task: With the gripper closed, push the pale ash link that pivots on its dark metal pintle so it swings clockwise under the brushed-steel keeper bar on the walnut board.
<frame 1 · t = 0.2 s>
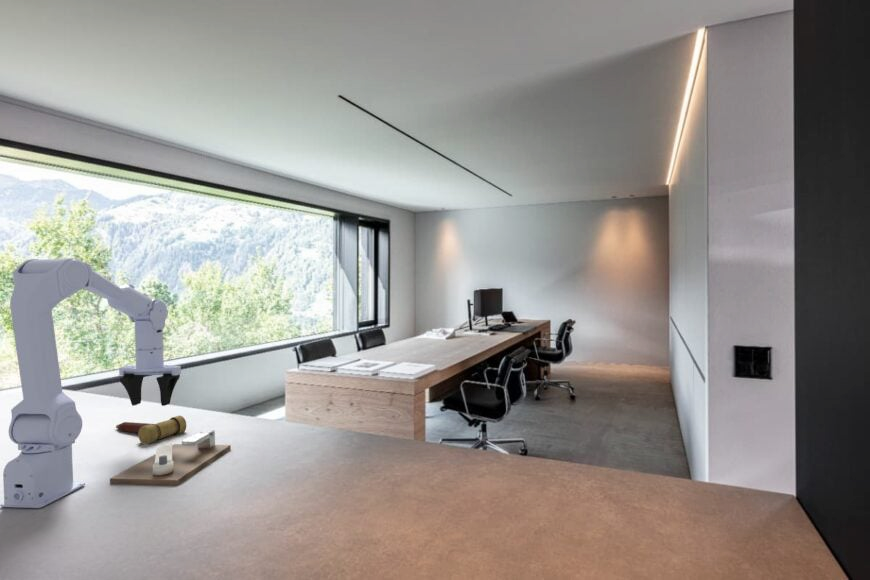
hand: (151, 404, 111), 10 cm above the worktop, fingers open, 7 cm apart
pivot board: (175, 464, 99), on the worktop
keeper: (198, 456, 103), resting on pivot board
gavel: (142, 435, 120), on the worktop
swing link: (163, 456, 97), point 3 cm above the worktop, hinge at 35.0°
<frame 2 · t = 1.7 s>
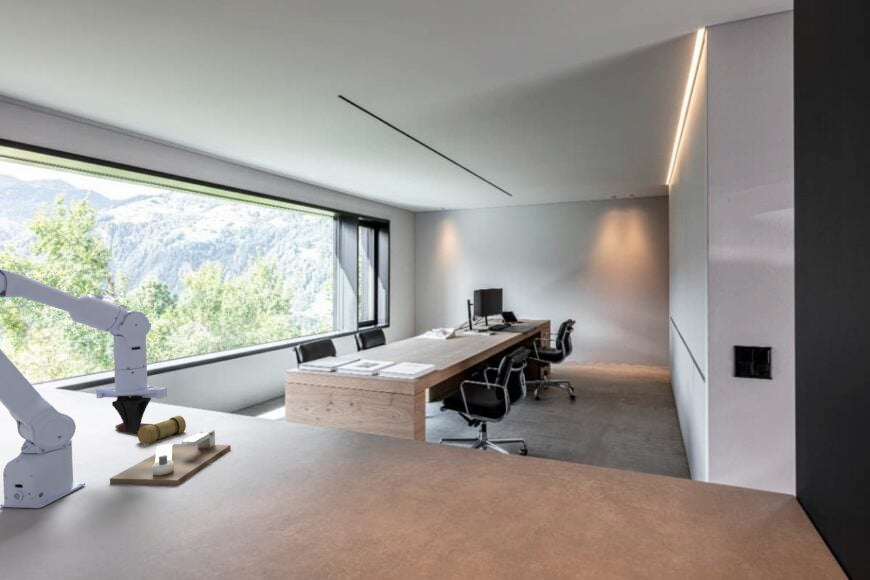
hand: (133, 431, 97), 8 cm above the worktop, fingers closed
nothing on the worktop moved.
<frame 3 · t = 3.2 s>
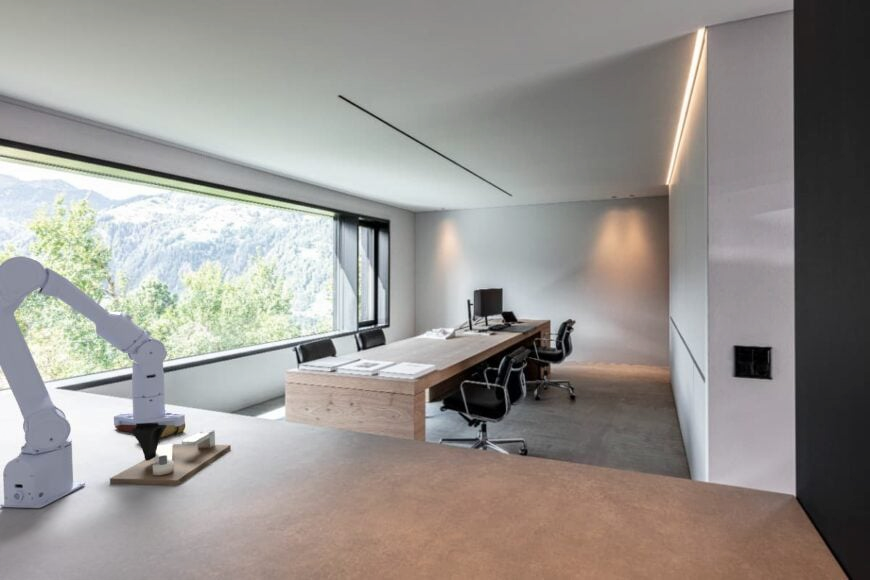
hand: (150, 458, 97), 2 cm above the worktop, fingers closed, pressing on swing link
swing link: (164, 455, 97), point 3 cm above the worktop, hinge at 34.7°, touching gripper
everything else where it was.
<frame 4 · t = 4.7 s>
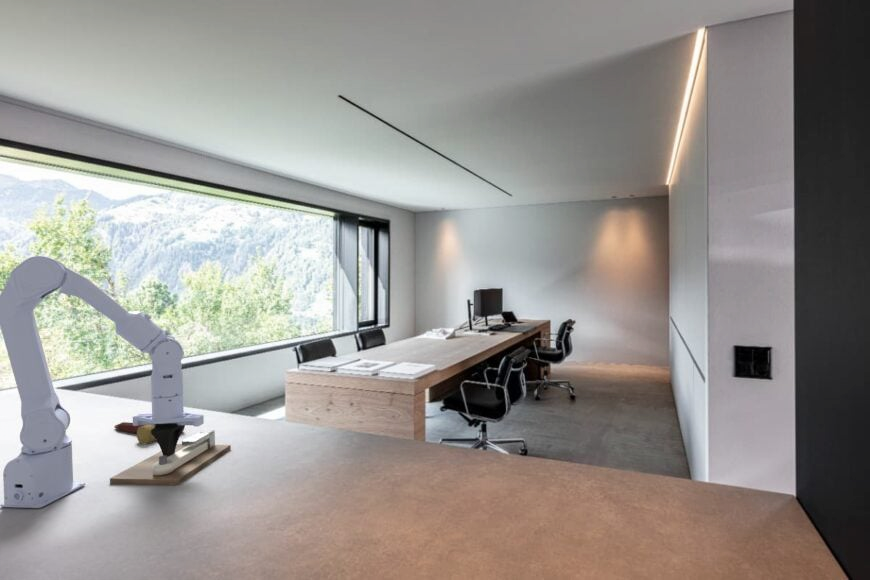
hand: (169, 459, 97), 2 cm above the worktop, fingers closed
swing link: (180, 454, 97), point 3 cm above the worktop, hinge at -0.2°, touching gripper
everything else where it was.
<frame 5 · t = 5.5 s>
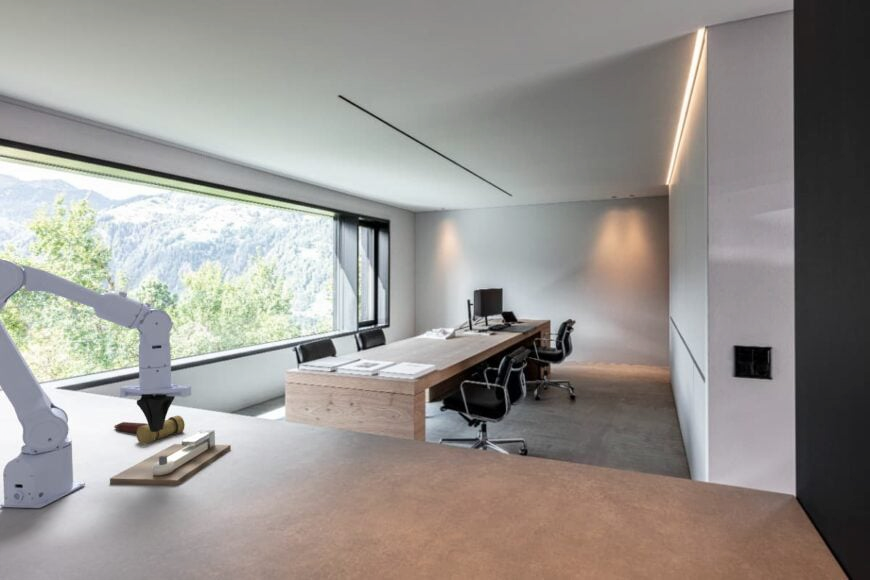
hand: (156, 430, 97), 8 cm above the worktop, fingers closed
swing link: (180, 454, 97), point 3 cm above the worktop, hinge at -0.3°
everything else where it was.
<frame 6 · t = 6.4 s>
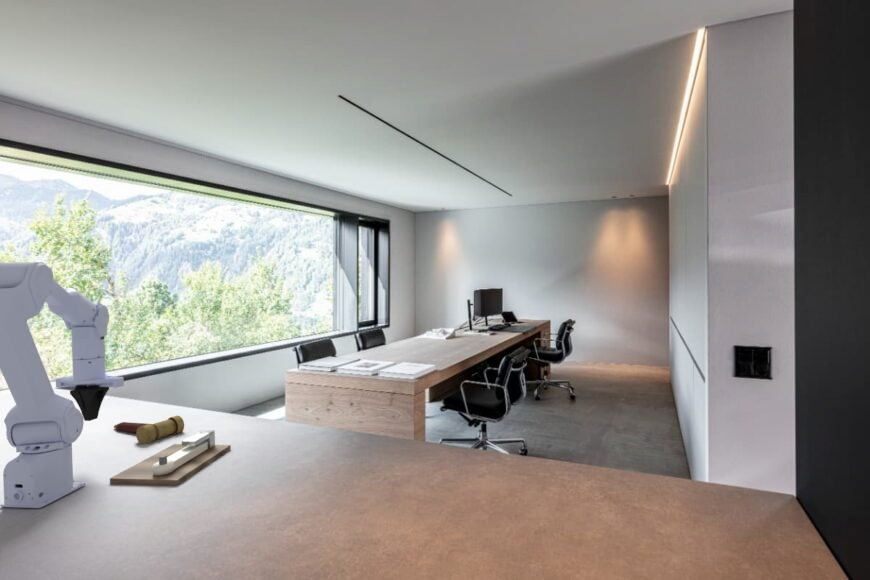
hand: (91, 419, 101), 9 cm above the worktop, fingers closed
nothing on the worktop moved.
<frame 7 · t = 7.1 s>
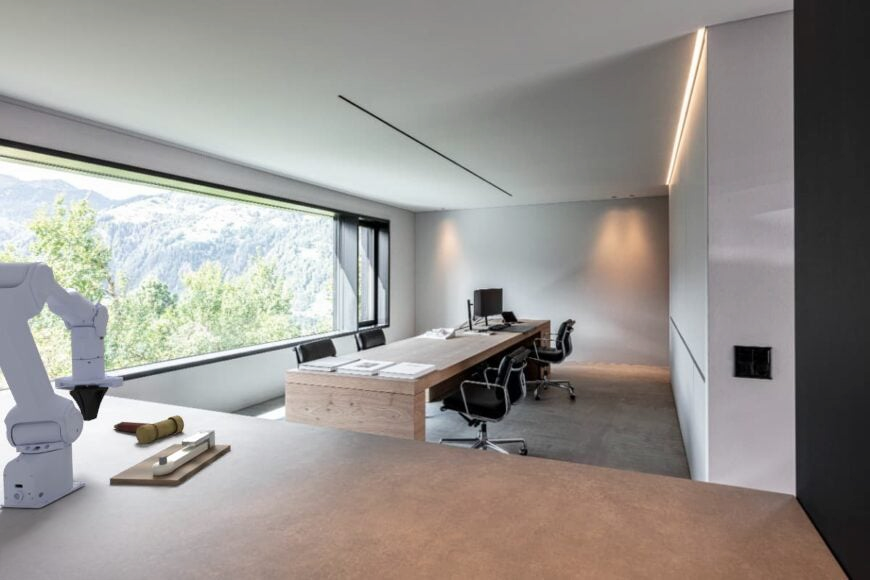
hand: (90, 419, 101), 9 cm above the worktop, fingers closed
nothing on the worktop moved.
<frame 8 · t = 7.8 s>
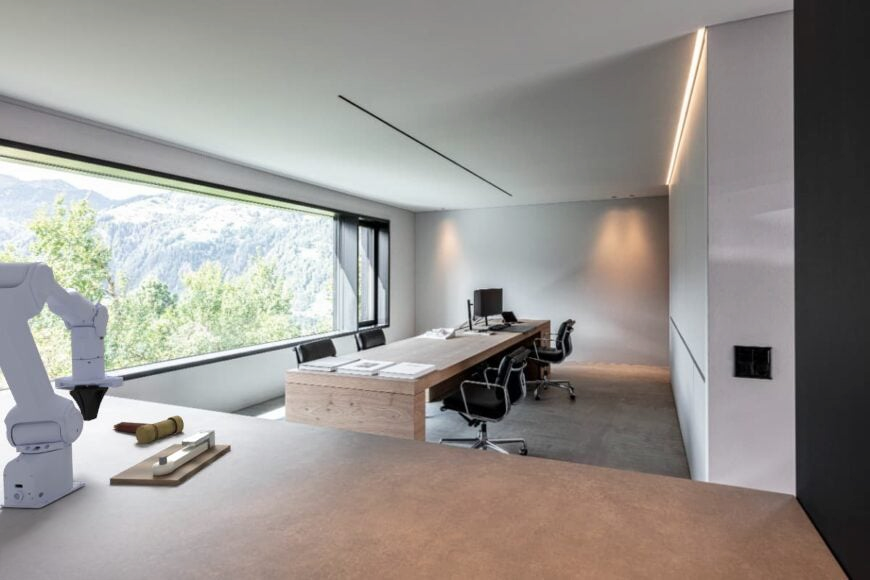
hand: (90, 419, 101), 9 cm above the worktop, fingers closed
nothing on the worktop moved.
at the end: swing link at +0° (first picture: +35°); gavel moved 1.2 cm from its start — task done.
